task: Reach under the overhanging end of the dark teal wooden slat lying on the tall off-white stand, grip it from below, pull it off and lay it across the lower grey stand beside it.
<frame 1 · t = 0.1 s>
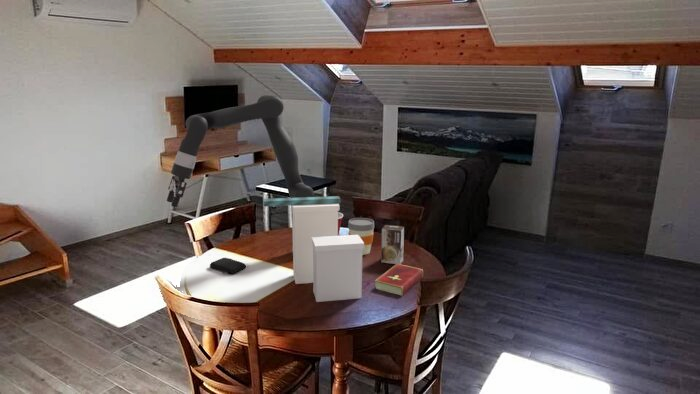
hand: (171, 204, 184), 31 cm above the table, tool tilted 20°, fingers open, 8 cm apart
tall stand: (315, 277, 194), on the table
slat: (302, 203, 185), point 32 cm above the table, touching tall stand
carrying case or bag: (227, 270, 202), on the table
reusable coffee cup: (360, 251, 225), on the table
coffee box: (392, 261, 213), on the table
plastic cup: (332, 236, 246), on the table
low stand: (337, 294, 179), on the table
hardcover book: (399, 284, 191), on the table
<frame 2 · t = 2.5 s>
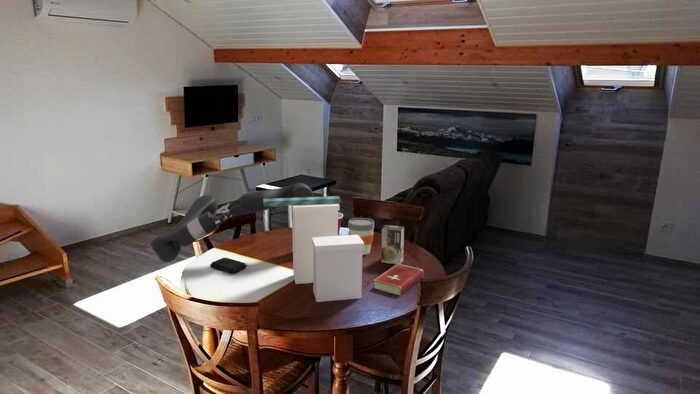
hand: (239, 204, 179), 33 cm above the table, tool pointing upward, fingers open, 8 cm apart
nothing on the table moved.
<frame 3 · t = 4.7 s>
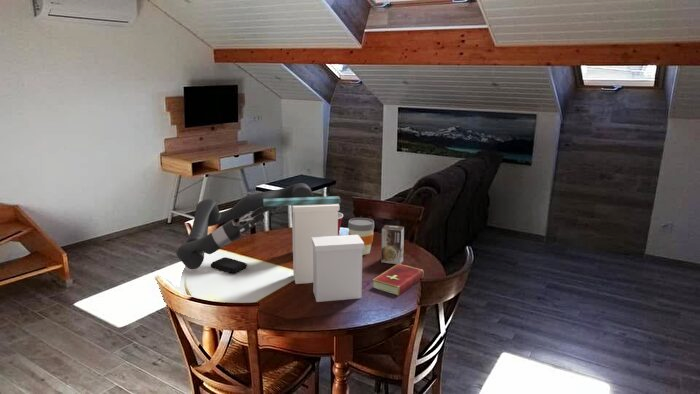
hand: (263, 212, 183), 29 cm above the table, tool pointing upward, fingers open, 8 cm apart
nothing on the table moved.
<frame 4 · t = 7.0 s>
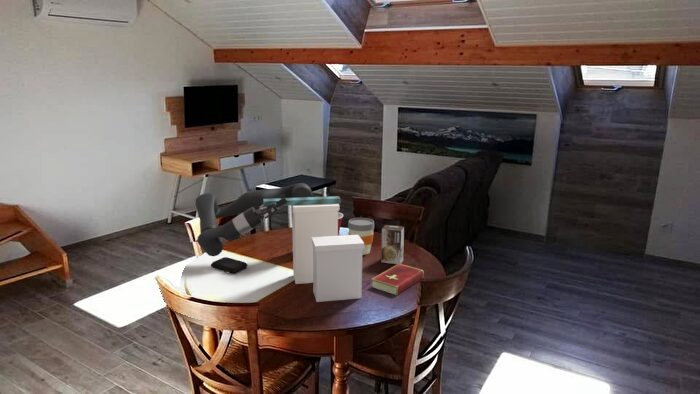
hand: (285, 198, 183), 34 cm above the table, tool pointing upward, fingers closed on slat, 4 cm apart
slat: (302, 203, 185), point 32 cm above the table, touching gripper, tall stand
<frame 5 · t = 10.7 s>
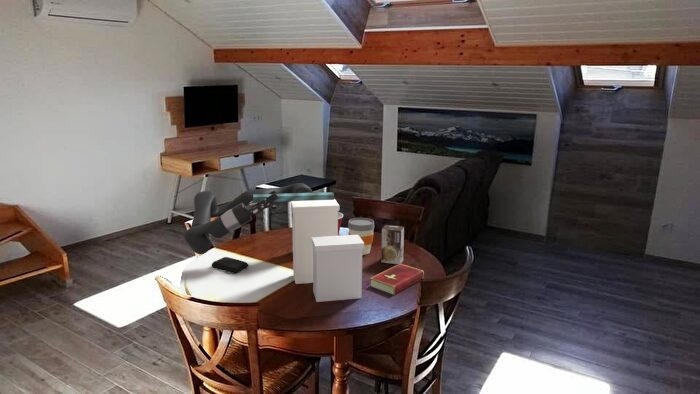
hand: (276, 194, 175), 38 cm above the table, tool pointing upward, fingers closed on slat, 4 cm apart
slat: (294, 199, 177), point 35 cm above the table, touching gripper
when the fingers open (26 cm above the table, at t = 14.6 s): slat drops 1 cm, resting on low stand.
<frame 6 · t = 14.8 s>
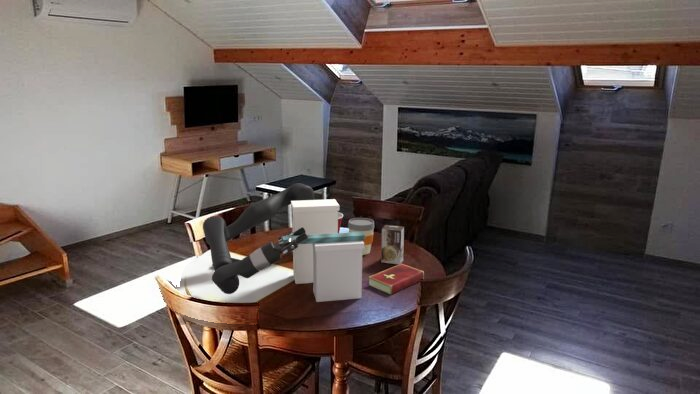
hand: (305, 232, 171), 26 cm above the table, tool pointing upward, fingers open, 6 cm apart
slat: (323, 240, 173), point 22 cm above the table, touching low stand
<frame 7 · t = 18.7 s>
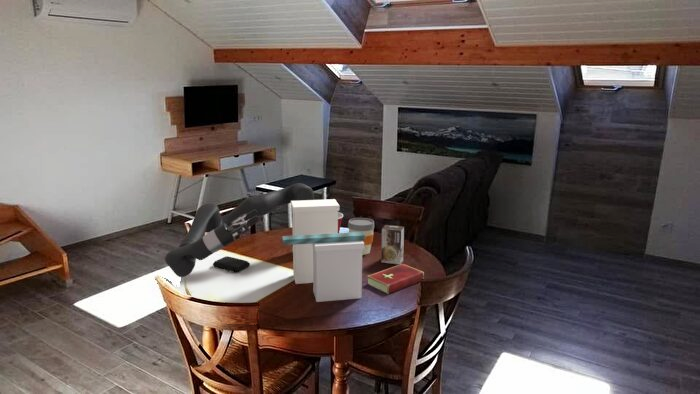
hand: (257, 214, 171), 31 cm above the table, tool pointing upward, fingers open, 8 cm apart
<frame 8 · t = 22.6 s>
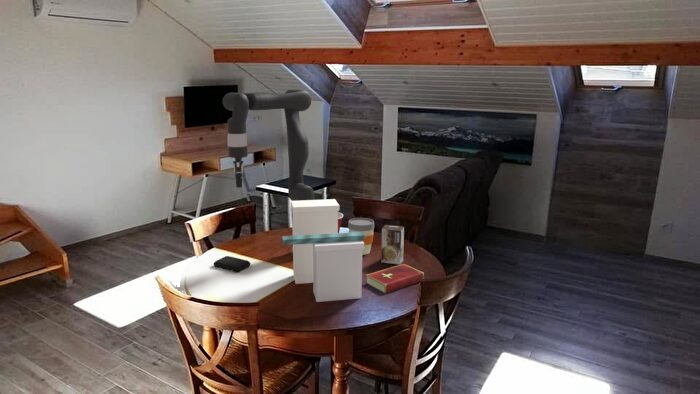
hand: (239, 185, 188), 38 cm above the table, tool pointing down, fingers open, 8 cm apart
at the end: slat inside the target area on the low stand (0.1 cm from its centre), point 22.0 cm above the low stand's base; the gripper is holding nothing; slat tilted 0° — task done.
